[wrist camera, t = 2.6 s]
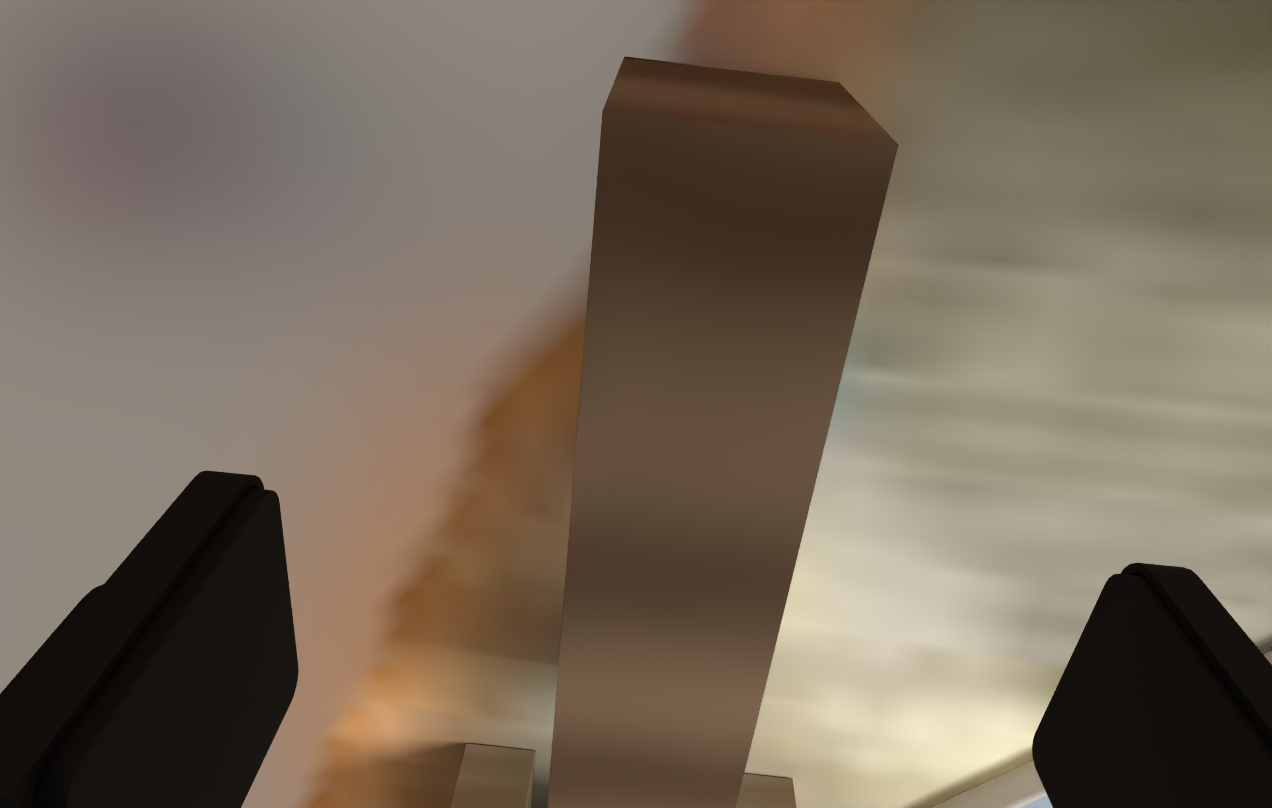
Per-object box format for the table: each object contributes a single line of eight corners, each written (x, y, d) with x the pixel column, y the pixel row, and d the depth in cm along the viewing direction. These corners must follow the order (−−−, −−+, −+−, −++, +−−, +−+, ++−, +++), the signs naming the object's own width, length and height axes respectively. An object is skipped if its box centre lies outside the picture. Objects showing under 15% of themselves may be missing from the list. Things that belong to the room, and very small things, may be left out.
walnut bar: (624, 56, 19) (602, 110, 13) (837, 80, 19) (898, 144, 13) (570, 661, 27) (544, 836, 22) (715, 677, 28) (723, 855, 22)
